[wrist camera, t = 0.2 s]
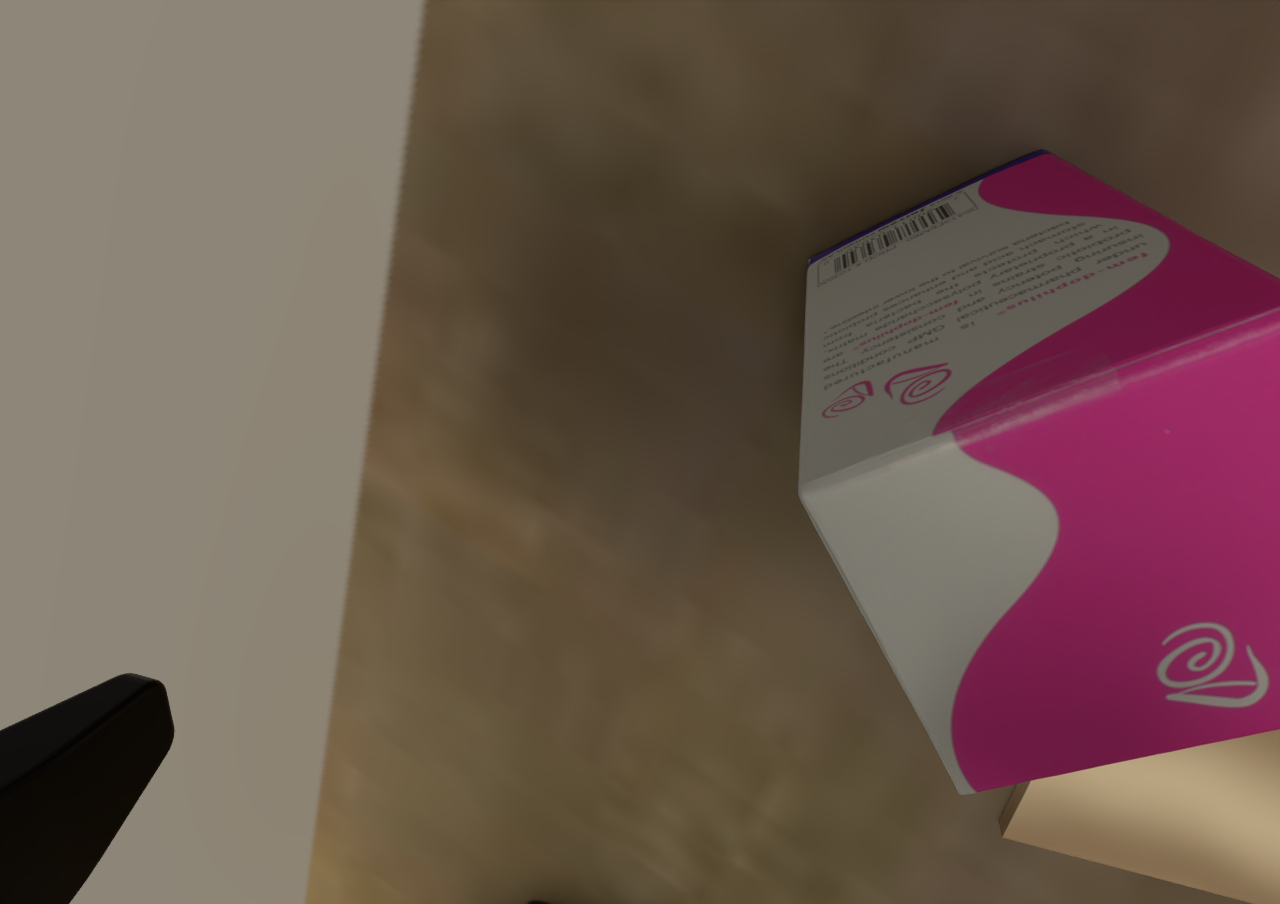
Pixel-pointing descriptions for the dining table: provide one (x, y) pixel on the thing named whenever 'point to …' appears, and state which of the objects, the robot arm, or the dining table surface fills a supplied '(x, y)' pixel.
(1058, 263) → the supplement box
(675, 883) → the dining table surface
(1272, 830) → the oak board
